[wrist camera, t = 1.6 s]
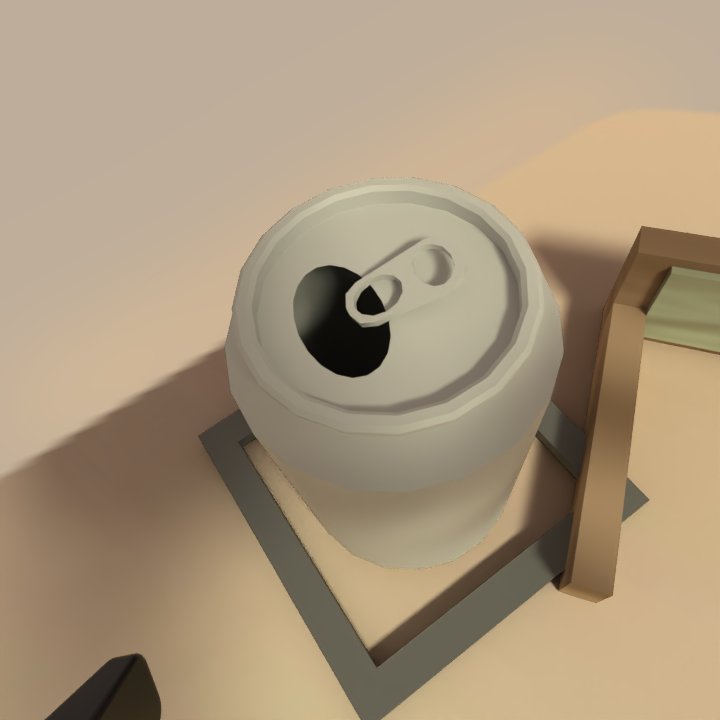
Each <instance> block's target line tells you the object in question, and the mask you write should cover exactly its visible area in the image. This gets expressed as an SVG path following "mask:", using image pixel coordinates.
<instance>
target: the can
mask: <svg viewBox="0 0 720 720" xmlns="http://www.w3.org/2000/svg"><path fill="white" fill-rule="evenodd" d="M225 353H226V361H227V369H228V376H229V384H230V392H231V394H232V396H233V397H234V399H235V401H236V403H237V405H238V407H239V408H240V410H241V412H242V414H243V416H244V418H245V419H246V421H247V423H248V425H249V427H250V429H251V431H252V432H253V434H254V436H255V437H256V438H257V439H258V441H259V442H260V443H261V445H262V446H263V447H264V449H265V450H266V451H267V453H268V454H269V455H270V457H271V458H272V459H273V461H274V462H275V463H276V465H277V466H278V467H279V469H280V470H281V471H282V472H283V474H284V475H285V476H286V478H287V479H288V480H289V482H290V483H291V484H292V486H293V487H294V488H295V490H296V491H297V492H298V494H299V495H300V496H301V498H302V499H303V500H304V502H305V503H306V504H307V506H308V507H309V508H310V509H311V511H312V512H313V513H314V515H315V516H316V517H317V519H318V520H319V521H320V523H321V524H322V525H323V527H324V528H325V529H326V531H327V532H328V533H329V534H330V535H331V536H332V537H334V538H335V539H336V540H337V541H338V542H339V543H340V544H341V545H343V546H344V547H345V548H346V549H347V550H348V551H349V552H350V553H351V554H353V555H355V556H357V557H360V558H362V559H364V560H367V561H369V562H371V563H374V564H376V565H379V566H381V567H383V568H392V569H406V570H423V569H426V568H430V567H434V566H438V565H441V564H445V563H449V562H453V561H454V560H456V559H457V558H459V557H460V556H462V555H463V554H465V553H466V552H467V551H469V550H470V549H472V548H473V547H475V546H476V545H478V544H479V543H481V542H482V541H483V539H484V538H485V536H486V535H487V534H488V532H489V531H490V530H491V528H492V527H493V526H494V524H495V523H496V522H497V520H498V519H499V517H500V516H501V514H502V512H503V510H504V507H505V505H506V503H507V500H508V498H509V496H510V493H511V491H512V489H513V486H514V484H515V482H516V479H517V477H518V475H519V472H520V470H521V468H522V465H523V463H524V460H525V458H526V456H527V453H528V451H529V449H530V446H531V444H532V442H533V439H534V437H535V435H536V432H537V430H538V428H539V425H540V423H541V421H542V418H543V416H544V414H545V411H546V409H547V407H548V404H549V402H550V399H551V395H552V392H553V388H554V385H555V382H556V378H557V375H558V371H559V368H560V364H561V361H562V357H563V354H564V349H563V339H562V330H561V320H560V310H559V305H558V303H557V301H556V299H555V297H554V295H553V293H552V291H551V289H550V287H549V285H548V283H547V281H546V279H545V277H544V275H543V273H542V271H541V268H540V266H539V264H538V262H537V260H536V258H535V256H534V254H533V252H532V250H531V248H530V246H529V244H528V242H527V240H526V238H525V236H524V234H523V233H522V232H521V231H520V230H519V229H518V228H517V227H516V226H515V225H514V224H513V223H512V222H511V221H510V220H509V219H507V218H506V217H505V216H504V215H503V214H502V213H501V212H500V211H499V210H498V209H497V208H496V207H495V206H494V205H492V204H490V203H488V202H486V201H484V200H482V199H480V198H478V197H476V196H474V195H472V194H470V193H468V192H466V191H464V190H462V189H460V188H458V187H456V186H452V185H447V184H442V183H437V182H433V181H428V180H423V179H419V178H381V179H380V178H379V179H368V180H364V181H360V182H356V183H353V184H348V185H345V186H341V187H337V188H333V189H329V190H327V191H326V192H324V193H322V194H320V195H318V196H316V197H314V198H312V199H310V200H308V201H307V202H304V203H303V204H301V205H299V206H297V207H295V208H293V209H292V210H290V211H289V212H288V213H287V214H286V215H285V216H284V217H283V218H282V219H280V220H279V221H278V222H277V223H276V224H275V225H274V226H273V227H271V228H270V229H269V230H268V231H267V232H266V233H265V234H264V235H263V236H262V237H261V238H260V240H259V242H258V243H257V245H256V246H255V248H254V250H253V251H252V253H251V254H250V256H249V258H248V260H247V261H246V263H245V264H244V266H243V267H242V269H241V271H240V276H239V280H238V284H237V288H236V293H235V298H234V301H233V306H232V318H231V322H230V326H229V331H228V335H227V340H226V344H225Z"/></svg>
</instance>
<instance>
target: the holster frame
mask: <svg viewBox="0 0 720 720" xmlns="http://www.w3.org/2000/svg"><path fill="white" fill-rule="evenodd" d="M535 436H536V437H537V438H538V439H539V440H540V441H541V442H542V443H543V444H544V445H545V446H546V447H547V448H548V449H549V450H550V452H551V453H552V454H553V455H554V456H555V457H556V458H557V459H558V460H559V461H560V462H561V463H562V464H563V465H564V466H565V468H566V469H567V470H568V471H569V472H570V473H571V474H572V475H573V476H574V477H575V478H576V479H577V478H578V476H579V475H580V472H581V466H582V459H583V453H584V447H585V440H586V435H585V434H584V433H583V432H582V431H581V430H580V429H579V428H578V427H577V426H576V425H575V424H574V423H573V422H572V421H571V420H570V419H569V418H568V417H567V416H566V415H565V414H564V413H563V412H562V411H561V410H560V409H559V408H558V407H557V406H556V405H555V404H554V403H553V402H552V401H551V400H550V402H549V404H548V407H547V409H546V411H545V414H544V416H543V418H542V421H541V423H540V425H539V428H538V430H537V432H536V435H535ZM198 437H199V438H200V440H201V442H202V444H203V445H204V447H205V449H206V451H207V452H208V454H209V456H210V458H211V459H212V461H213V463H214V465H215V466H216V468H217V470H218V472H219V473H220V475H221V477H222V479H223V480H224V482H225V484H226V486H227V487H228V489H229V491H230V493H231V494H232V496H233V498H234V500H235V501H236V503H237V505H238V507H239V508H240V510H241V512H242V513H243V515H244V517H245V519H246V520H247V522H248V524H249V526H250V527H251V529H252V531H253V533H254V534H255V536H256V538H257V540H258V541H259V543H260V545H261V547H262V548H263V550H264V552H265V554H266V555H267V557H268V559H269V561H270V562H271V564H272V566H273V568H274V569H275V571H276V573H277V575H278V576H279V578H280V580H281V582H282V583H283V585H284V587H285V588H286V590H287V592H288V594H289V595H290V597H291V599H292V601H293V602H294V604H295V606H296V608H297V609H298V611H299V613H300V615H301V616H302V618H303V620H304V622H305V623H306V625H307V627H308V629H309V630H310V632H311V634H312V636H313V637H314V639H315V641H316V643H317V644H318V646H319V648H320V650H321V651H322V653H323V655H324V657H325V658H326V660H327V662H328V664H329V665H330V667H331V669H332V670H333V672H334V674H335V676H336V677H337V679H338V681H339V683H340V684H341V686H342V688H343V690H344V691H345V693H346V695H347V697H348V698H349V700H350V702H351V704H352V705H353V707H354V709H355V711H356V712H357V714H358V716H359V718H360V719H361V720H381V719H382V718H383V717H384V716H386V715H387V714H388V713H389V712H391V711H392V710H393V709H394V708H396V707H397V706H398V705H399V704H400V703H402V702H403V701H404V700H405V699H407V698H408V697H409V696H410V695H411V694H413V693H414V692H415V691H416V690H418V689H419V688H420V687H421V686H422V685H424V684H425V683H426V682H427V681H429V680H430V679H431V678H432V677H433V676H435V675H436V674H437V673H438V672H440V671H441V670H442V669H443V668H444V667H446V666H447V665H448V664H449V663H451V662H452V661H453V660H454V659H455V658H457V657H458V656H459V655H460V654H462V653H463V652H464V651H465V650H466V649H468V648H469V647H470V646H471V645H473V644H474V643H475V642H476V641H478V640H479V639H480V638H481V637H482V636H484V635H485V634H486V633H487V632H489V631H490V630H491V629H492V628H493V627H495V626H496V625H497V624H498V623H500V622H501V621H502V620H503V619H504V618H506V617H507V616H508V615H509V614H511V613H512V612H513V611H514V610H515V609H517V608H518V607H519V606H520V605H522V604H523V603H524V602H525V601H526V600H528V599H529V598H530V597H531V596H533V595H534V594H535V593H536V592H537V591H539V590H540V589H541V588H542V587H544V586H545V585H546V584H547V583H548V582H550V581H551V580H552V579H553V578H555V577H556V576H557V575H558V574H560V573H561V572H562V571H563V570H564V569H565V567H566V560H567V554H568V548H569V541H570V535H571V529H572V522H573V516H574V512H572V513H571V514H570V515H569V516H567V517H566V518H565V519H564V520H562V521H561V522H560V523H558V524H557V525H556V526H555V527H553V528H552V529H551V530H550V531H548V532H547V533H546V534H545V535H543V536H542V537H541V538H540V539H538V540H537V541H536V542H535V543H533V544H532V545H531V546H530V547H528V548H527V549H526V550H524V551H523V552H522V553H521V554H519V555H518V556H517V557H516V558H514V559H513V560H512V561H511V562H509V563H508V564H507V565H506V566H504V567H503V568H502V569H501V570H499V571H498V572H497V573H496V574H494V575H493V576H492V577H490V578H489V579H488V580H487V581H485V582H484V583H483V584H482V585H480V586H479V587H478V588H477V589H475V590H474V591H473V592H472V593H470V594H469V595H468V596H467V597H465V598H464V599H463V600H461V601H460V602H459V603H458V604H456V605H455V606H454V607H453V608H451V609H450V610H449V611H448V612H446V613H445V614H444V615H443V616H441V617H440V618H439V619H438V620H436V621H435V622H434V623H433V624H431V625H430V626H429V627H427V628H426V629H425V630H424V631H422V632H421V633H420V634H419V635H417V636H416V637H415V638H414V639H412V640H411V641H410V642H409V643H407V644H406V645H405V646H404V647H402V648H401V649H400V650H399V651H397V652H396V653H395V654H393V655H392V656H391V657H390V658H388V659H387V660H386V661H385V662H383V663H382V664H381V665H380V666H378V667H377V666H376V664H375V662H374V661H373V659H372V657H371V656H370V654H369V652H368V651H367V649H366V648H365V646H364V644H363V643H362V641H361V639H360V638H359V636H358V635H357V633H356V631H355V630H354V628H353V626H352V625H351V623H350V622H349V620H348V618H347V617H346V615H345V613H344V612H343V610H342V609H341V607H340V605H339V604H338V602H337V600H336V599H335V597H334V595H333V594H332V592H331V591H330V589H329V587H328V586H327V584H326V582H325V581H324V579H323V578H322V576H321V574H320V573H319V571H318V569H317V568H316V566H315V565H314V563H313V561H312V560H311V558H310V556H309V555H308V553H307V552H306V550H305V548H304V547H303V545H302V543H301V542H300V540H299V538H298V537H297V535H296V534H295V532H294V530H293V529H292V527H291V525H290V524H289V522H288V521H287V519H286V517H285V516H284V514H283V512H282V511H281V509H280V508H279V506H278V504H277V503H276V501H275V499H274V498H273V496H272V494H271V493H270V491H269V490H268V488H267V486H266V485H265V483H264V481H263V480H262V478H261V477H260V475H259V473H258V472H257V470H256V468H255V467H254V465H253V464H252V462H251V460H250V459H249V457H248V455H247V454H246V452H245V451H244V449H243V446H244V445H246V444H247V443H249V442H251V441H252V440H254V439H255V438H256V437H255V436H254V434H253V432H252V431H251V429H250V427H249V425H248V423H247V421H246V419H245V418H244V416H243V414H242V412H241V410H240V409H239V410H237V411H236V412H234V413H233V414H231V415H230V416H228V417H227V418H225V419H224V420H222V421H220V422H219V423H217V424H216V425H214V426H213V427H211V428H210V429H208V430H207V431H205V432H203V433H202V434H200V435H199V436H198ZM648 501H649V499H648V498H647V497H646V496H645V495H644V494H643V493H642V492H641V491H640V490H639V489H638V488H637V487H636V486H635V485H634V484H633V483H632V482H631V481H630V480H629V479H628V478H627V480H626V489H625V497H624V505H623V514H622V522H623V521H624V520H626V519H627V518H628V517H629V516H631V515H632V514H633V513H634V512H635V511H637V510H638V509H639V508H640V507H642V506H643V505H644V504H645V503H646V502H648ZM622 522H621V523H622Z"/></svg>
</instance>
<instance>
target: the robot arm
mask: <svg viewBox="0 0 720 720" xmlns="http://www.w3.org/2000/svg"><path fill="white" fill-rule="evenodd" d="M160 718H161V702H160V697H159V694H158V691H157V689H156V686H155V683H154V680H153V678H152V675H151V672H150V670H149V667H148V664H147V662H146V660H145V658H144V657H143V656H142V655H141V654H138V653H136V654H130V655H125V656H120V657H116V658H113V659H111V660H109V661H108V662H107V663H106V664H105V665H103V666H102V667H101V668H100V669H99V670H98V671H97V672H96V673H95V674H94V675H93V676H92V677H91V678H89V679H88V680H87V681H86V682H85V683H84V684H83V685H82V686H81V687H80V688H79V689H78V690H76V691H75V692H74V693H73V694H72V695H71V696H70V697H69V698H68V699H67V700H66V701H65V702H64V703H62V704H61V705H60V706H59V707H58V708H57V709H56V710H55V711H54V712H53V713H52V714H51V715H49V716H48V717H47V718H46V719H45V720H160Z"/></svg>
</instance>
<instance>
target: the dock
mask: <svg viewBox="0 0 720 720" xmlns="http://www.w3.org/2000/svg"><path fill="white" fill-rule="evenodd" d="M643 339H645V340H650V341H655V342H660V343H665V344H670V345H675V346H680V347H685V348H690V349H695V350H700V351H705V352H710V353H714V354H719V355H720V238H716V237H709V236H703V235H696V234H690V233H684V232H677V231H671V230H664V229H658V228H651V227H645V226H642V227H641V229H640V231H639V233H638V235H637V237H636V240H635V242H634V244H633V246H632V248H631V250H630V253H629V255H628V257H627V259H626V261H625V263H624V265H623V268H622V270H621V272H620V274H619V276H618V278H617V281H616V283H615V285H614V287H613V289H612V291H611V293H610V296H609V298H608V300H607V302H606V304H605V306H604V311H603V317H602V323H601V330H600V336H599V342H598V348H597V355H596V361H595V367H594V373H593V379H592V386H591V392H590V398H589V404H588V410H587V417H586V423H585V429H584V434H585V435H586V440H585V447H584V453H583V459H582V466H581V472H580V475H579V476H578V478H577V479H576V485H575V491H574V498H573V504H572V510H571V513H572V512H574V516H573V522H572V529H571V535H570V541H569V548H568V554H567V560H566V567H565V569H564V570H563V571H562V572H561V578H560V585H559V591H560V592H563V593H566V594H569V595H573V596H576V597H579V598H582V599H585V600H588V601H591V602H595V603H597V602H599V601H602V600H604V599H606V598H608V597H611V596H613V589H614V580H615V572H616V564H617V555H618V547H619V539H620V530H621V522H622V514H623V505H624V497H625V489H626V480H627V472H628V464H629V455H630V447H631V439H632V430H633V422H634V414H635V405H636V397H637V389H638V380H639V372H640V364H641V355H642V347H643Z"/></svg>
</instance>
